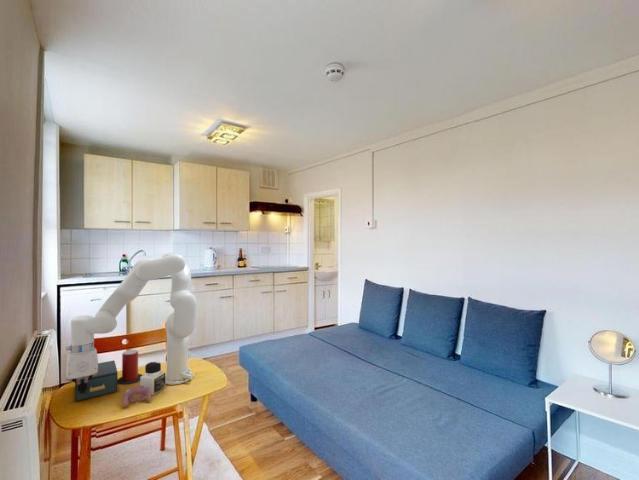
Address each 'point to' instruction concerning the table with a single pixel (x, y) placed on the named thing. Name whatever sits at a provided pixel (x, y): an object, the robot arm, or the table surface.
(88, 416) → the table surface
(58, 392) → the table surface
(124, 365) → the can
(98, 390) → the drawer
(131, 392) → the video game controller
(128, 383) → the coaster
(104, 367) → the cabinet
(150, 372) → the medicine bottle
